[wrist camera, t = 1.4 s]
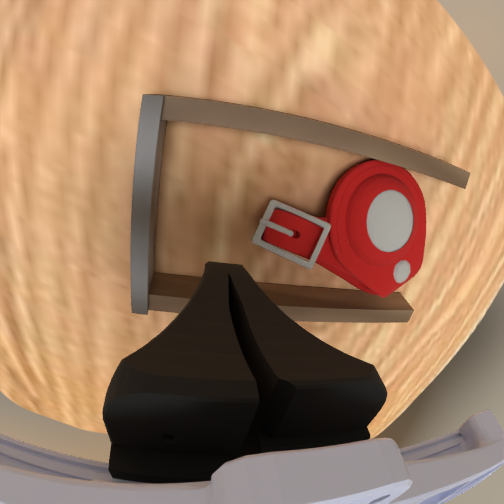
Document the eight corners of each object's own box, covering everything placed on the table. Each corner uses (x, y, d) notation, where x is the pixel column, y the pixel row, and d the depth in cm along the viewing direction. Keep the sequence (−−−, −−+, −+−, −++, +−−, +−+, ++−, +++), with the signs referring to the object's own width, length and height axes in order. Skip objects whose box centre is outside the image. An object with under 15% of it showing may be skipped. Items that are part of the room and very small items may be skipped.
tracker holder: (412, 133, 17) (452, 265, 20) (374, 141, 22) (415, 255, 24) (247, 220, 16) (321, 365, 18) (232, 215, 20) (296, 337, 23)
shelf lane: (394, 304, 25) (410, 326, 23) (139, 285, 21) (131, 312, 18) (448, 163, 19) (474, 175, 17) (153, 94, 15) (142, 94, 13)
